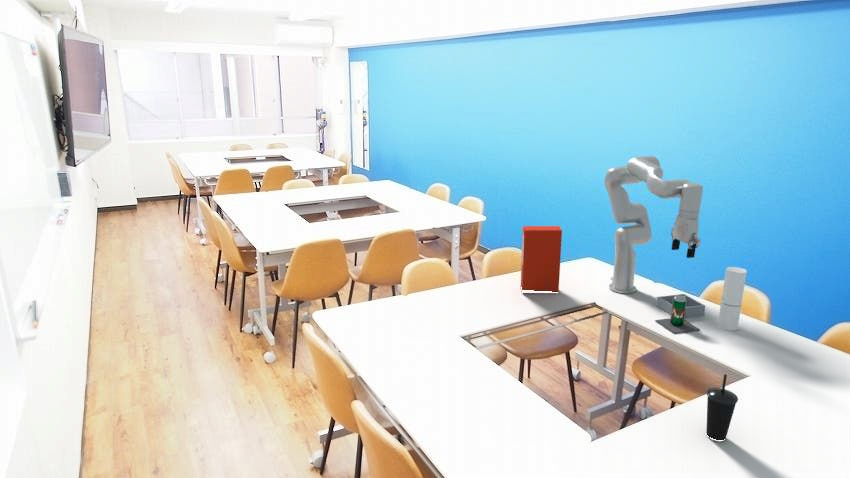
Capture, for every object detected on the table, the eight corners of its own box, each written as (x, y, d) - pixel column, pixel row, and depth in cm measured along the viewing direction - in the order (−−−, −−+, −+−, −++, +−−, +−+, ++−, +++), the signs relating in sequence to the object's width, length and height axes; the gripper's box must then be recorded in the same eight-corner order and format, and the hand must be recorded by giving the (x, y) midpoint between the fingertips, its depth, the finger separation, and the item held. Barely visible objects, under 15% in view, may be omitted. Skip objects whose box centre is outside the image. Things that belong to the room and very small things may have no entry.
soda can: (682, 322, 221) (686, 295, 218) (684, 327, 217) (687, 300, 213) (669, 320, 223) (672, 294, 219) (670, 325, 218) (673, 299, 215)
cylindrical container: (732, 323, 221) (741, 266, 213) (740, 331, 214) (750, 273, 207) (714, 323, 221) (723, 266, 214) (722, 330, 214) (731, 272, 207)
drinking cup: (695, 429, 155) (704, 368, 149) (720, 427, 155) (729, 367, 150) (710, 446, 147) (720, 383, 142) (737, 444, 148) (747, 381, 142)
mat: (655, 321, 224) (655, 320, 224) (680, 318, 226) (680, 317, 226) (673, 333, 213) (673, 332, 212) (699, 330, 215) (700, 329, 215)
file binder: (558, 294, 254) (562, 230, 245) (522, 294, 256) (524, 230, 246) (555, 288, 262) (559, 225, 253) (520, 287, 263) (522, 225, 254)
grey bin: (656, 306, 239) (657, 296, 238) (682, 303, 241) (684, 293, 240) (676, 318, 226) (677, 308, 225) (703, 315, 229) (705, 305, 227)
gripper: (667, 208, 222) (661, 247, 227) (694, 220, 205) (687, 261, 211) (683, 207, 223) (677, 246, 228) (711, 219, 207) (704, 260, 212)
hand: (682, 253), depth 220 cm, fingers open, 9 cm apart
